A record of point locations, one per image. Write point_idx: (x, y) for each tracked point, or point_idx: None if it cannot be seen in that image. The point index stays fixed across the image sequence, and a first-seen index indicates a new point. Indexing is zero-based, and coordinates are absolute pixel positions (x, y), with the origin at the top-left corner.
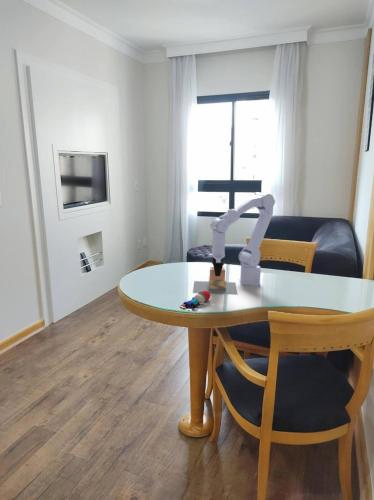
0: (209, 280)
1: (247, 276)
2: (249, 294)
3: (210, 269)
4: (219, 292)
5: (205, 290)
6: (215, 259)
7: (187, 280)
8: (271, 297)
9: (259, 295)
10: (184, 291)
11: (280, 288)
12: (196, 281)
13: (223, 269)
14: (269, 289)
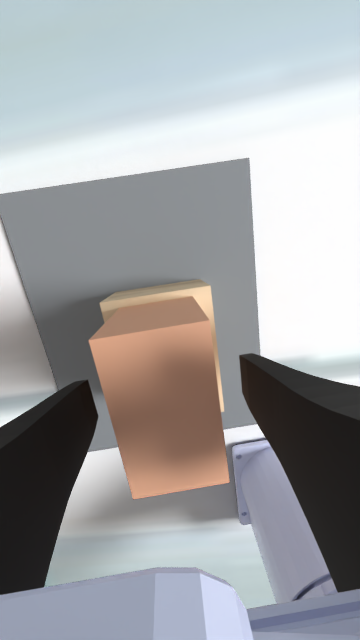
0: (102, 309)
1: (256, 526)
2: (115, 492)
3: (92, 346)
4: (74, 366)
5: (76, 278)
6: (325, 455)
7: (270, 91)
8: (110, 563)
9: (117, 526)
10: (16, 119)
11: (228, 581)
12: (240, 178)
13: (146, 481)
14: (205, 551)
